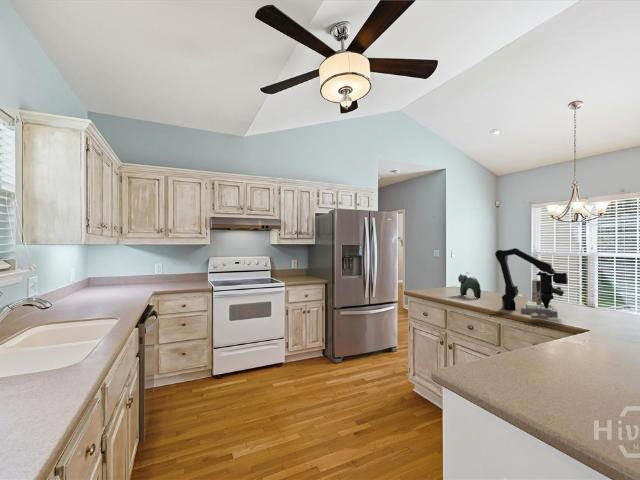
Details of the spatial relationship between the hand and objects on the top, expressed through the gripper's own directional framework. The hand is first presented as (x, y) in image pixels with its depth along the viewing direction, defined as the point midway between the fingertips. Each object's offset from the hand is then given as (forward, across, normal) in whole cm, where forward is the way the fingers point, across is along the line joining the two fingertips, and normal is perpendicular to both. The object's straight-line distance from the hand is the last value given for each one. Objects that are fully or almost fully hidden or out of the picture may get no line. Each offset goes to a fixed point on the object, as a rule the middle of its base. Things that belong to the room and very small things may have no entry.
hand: (546, 308), depth 184 cm
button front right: (+2, 0, 0) cm, 2 cm away
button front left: (+1, 0, +7) cm, 7 cm away
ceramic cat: (+4, +40, +48) cm, 63 cm away
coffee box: (+4, +38, +2) cm, 38 cm away
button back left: (+1, +8, +8) cm, 11 cm away
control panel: (+4, +4, +4) cm, 6 cm away
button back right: (+1, +8, 0) cm, 8 cm away
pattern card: (+3, -10, +4) cm, 11 cm away
